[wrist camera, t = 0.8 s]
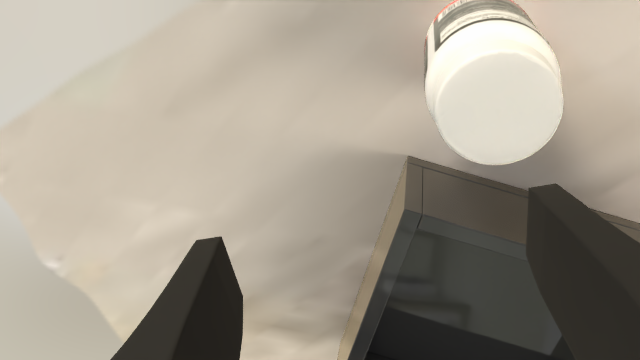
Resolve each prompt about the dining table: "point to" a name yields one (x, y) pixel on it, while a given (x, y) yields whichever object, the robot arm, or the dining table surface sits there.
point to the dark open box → (454, 275)
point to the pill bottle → (491, 81)
